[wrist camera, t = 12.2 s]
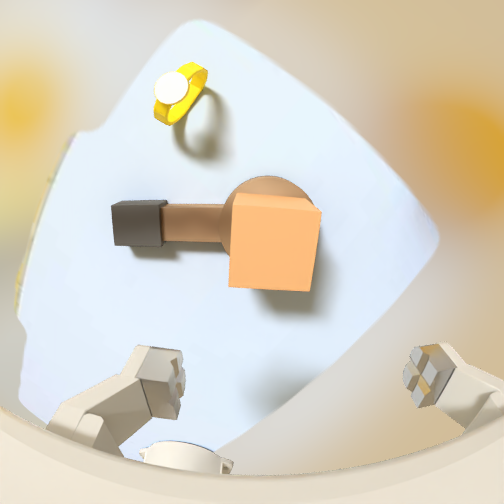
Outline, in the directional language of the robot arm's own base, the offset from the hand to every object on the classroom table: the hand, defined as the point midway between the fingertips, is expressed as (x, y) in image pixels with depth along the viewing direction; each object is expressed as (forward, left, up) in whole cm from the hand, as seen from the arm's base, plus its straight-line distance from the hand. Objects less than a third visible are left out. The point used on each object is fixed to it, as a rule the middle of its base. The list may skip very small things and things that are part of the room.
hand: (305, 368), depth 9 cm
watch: (+12, +8, -20) cm, 25 cm away
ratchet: (0, +5, -20) cm, 21 cm away
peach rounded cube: (0, 0, -18) cm, 18 cm away
